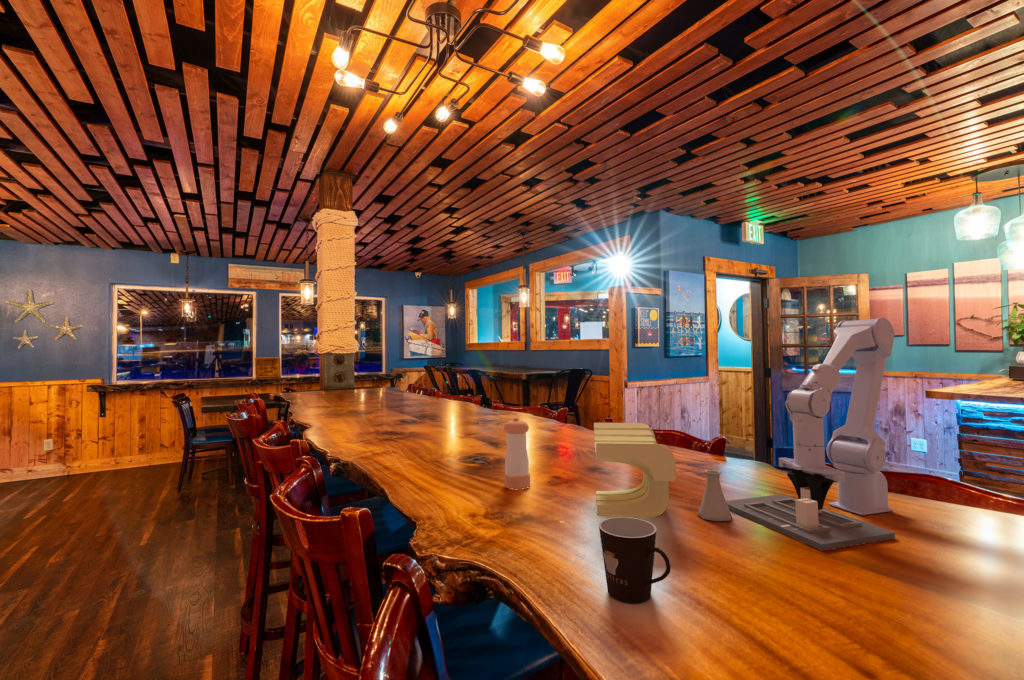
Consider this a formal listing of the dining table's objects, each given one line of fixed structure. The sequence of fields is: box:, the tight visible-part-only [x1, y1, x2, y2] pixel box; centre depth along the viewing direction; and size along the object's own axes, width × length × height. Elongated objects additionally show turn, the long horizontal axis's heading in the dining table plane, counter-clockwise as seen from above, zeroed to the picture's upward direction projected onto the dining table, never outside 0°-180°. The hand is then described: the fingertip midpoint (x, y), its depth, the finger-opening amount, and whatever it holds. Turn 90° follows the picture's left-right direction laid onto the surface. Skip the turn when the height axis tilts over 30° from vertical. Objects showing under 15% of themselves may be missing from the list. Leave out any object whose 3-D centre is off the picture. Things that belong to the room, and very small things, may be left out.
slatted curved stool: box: [593, 422, 677, 518], centre depth 110 cm, size 30×16×18 cm, turn 171°
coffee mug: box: [598, 516, 672, 605], centre depth 69 cm, size 12×9×10 cm
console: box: [726, 493, 896, 552], centre depth 99 cm, size 18×26×2 cm
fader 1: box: [800, 487, 822, 513], centre depth 100 cm, size 3×2×5 cm
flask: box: [697, 469, 733, 522], centre depth 102 cm, size 7×7×10 cm
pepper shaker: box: [503, 417, 531, 489], centre depth 129 cm, size 7×7×19 cm
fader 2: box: [795, 498, 819, 529], centre depth 92 cm, size 3×2×5 cm
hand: (811, 507), depth 100 cm, fingers closed on fader 1, 2 cm apart
